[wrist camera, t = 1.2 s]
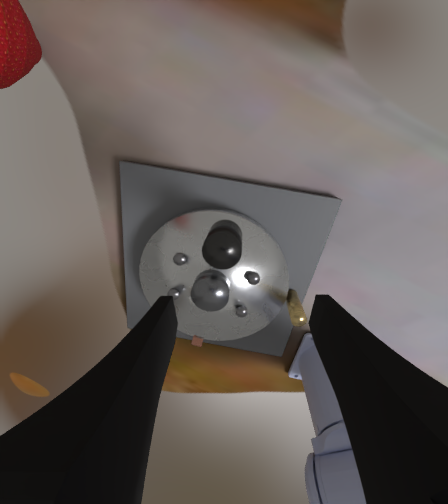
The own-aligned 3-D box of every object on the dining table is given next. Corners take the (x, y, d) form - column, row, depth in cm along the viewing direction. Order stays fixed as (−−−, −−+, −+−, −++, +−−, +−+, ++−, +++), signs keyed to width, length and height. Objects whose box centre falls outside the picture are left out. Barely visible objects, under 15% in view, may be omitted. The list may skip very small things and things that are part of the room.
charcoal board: (337, 197, 20) (342, 199, 19) (280, 350, 28) (281, 356, 27) (125, 160, 20) (119, 161, 19) (131, 322, 29) (127, 328, 28)
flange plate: (278, 341, 26) (285, 381, 21) (158, 334, 27) (140, 370, 23) (294, 207, 19) (309, 224, 15) (133, 207, 21) (101, 222, 16)
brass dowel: (299, 290, 23) (309, 316, 19) (295, 301, 24) (304, 327, 20) (286, 288, 23) (293, 313, 20) (282, 298, 24) (289, 325, 20)
